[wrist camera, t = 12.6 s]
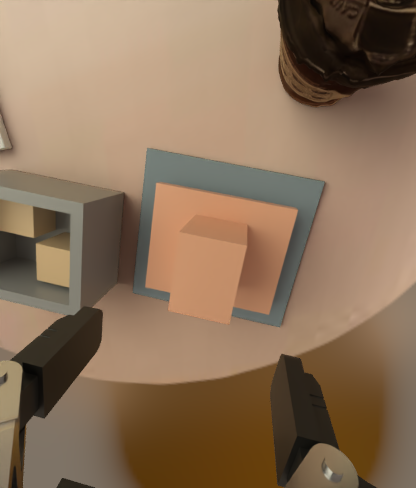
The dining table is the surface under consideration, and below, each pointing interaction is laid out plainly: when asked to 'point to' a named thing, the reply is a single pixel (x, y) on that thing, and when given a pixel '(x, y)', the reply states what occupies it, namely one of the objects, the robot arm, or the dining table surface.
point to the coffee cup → (344, 46)
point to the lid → (216, 251)
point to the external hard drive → (4, 136)
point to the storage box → (57, 241)
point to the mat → (236, 184)
